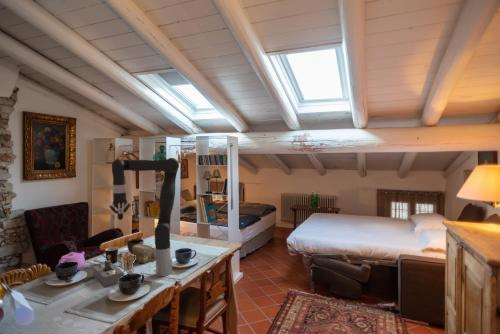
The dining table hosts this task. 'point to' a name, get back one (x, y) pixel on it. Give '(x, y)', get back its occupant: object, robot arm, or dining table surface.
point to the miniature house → (144, 253)
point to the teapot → (74, 259)
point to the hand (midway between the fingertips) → (120, 219)
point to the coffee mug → (111, 254)
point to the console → (107, 275)
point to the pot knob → (107, 265)
